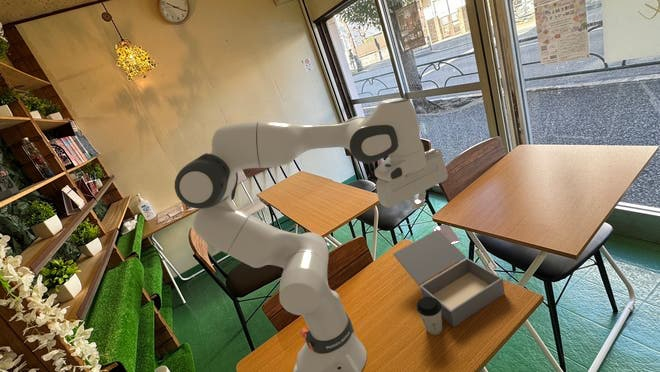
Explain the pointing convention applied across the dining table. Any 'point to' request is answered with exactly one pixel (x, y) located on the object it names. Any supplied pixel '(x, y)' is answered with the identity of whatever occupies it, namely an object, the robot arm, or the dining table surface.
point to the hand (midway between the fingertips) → (418, 207)
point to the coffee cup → (430, 314)
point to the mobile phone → (448, 233)
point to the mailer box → (463, 290)
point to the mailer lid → (428, 256)
